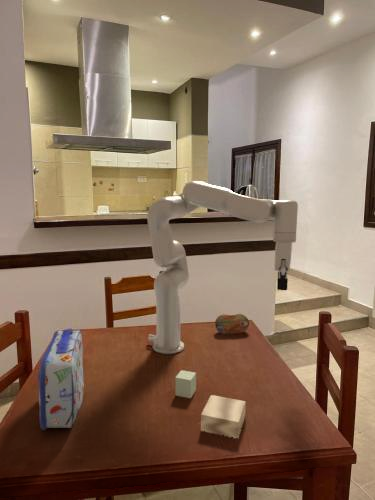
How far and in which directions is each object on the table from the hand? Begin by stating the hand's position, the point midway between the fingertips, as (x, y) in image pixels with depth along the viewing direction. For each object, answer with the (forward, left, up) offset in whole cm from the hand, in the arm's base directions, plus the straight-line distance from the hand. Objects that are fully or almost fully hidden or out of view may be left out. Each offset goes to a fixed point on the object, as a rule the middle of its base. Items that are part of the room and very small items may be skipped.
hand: (282, 286), depth 129 cm
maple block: (-10, -38, -30) cm, 50 cm away
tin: (-23, +27, -30) cm, 47 cm away
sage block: (-25, -27, -30) cm, 48 cm away
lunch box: (-55, -47, -30) cm, 79 cm away
